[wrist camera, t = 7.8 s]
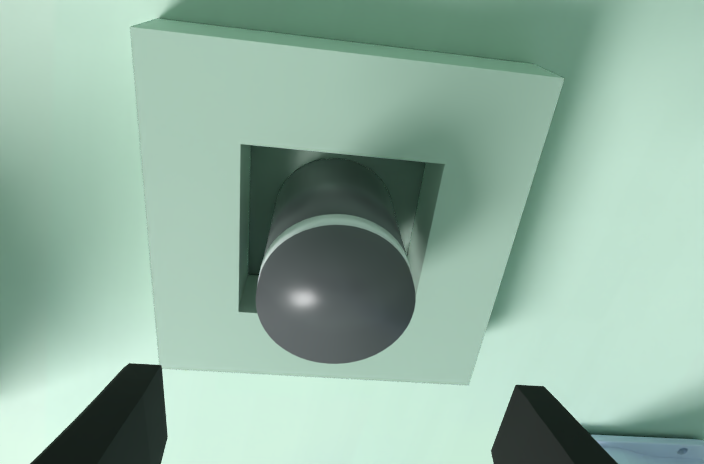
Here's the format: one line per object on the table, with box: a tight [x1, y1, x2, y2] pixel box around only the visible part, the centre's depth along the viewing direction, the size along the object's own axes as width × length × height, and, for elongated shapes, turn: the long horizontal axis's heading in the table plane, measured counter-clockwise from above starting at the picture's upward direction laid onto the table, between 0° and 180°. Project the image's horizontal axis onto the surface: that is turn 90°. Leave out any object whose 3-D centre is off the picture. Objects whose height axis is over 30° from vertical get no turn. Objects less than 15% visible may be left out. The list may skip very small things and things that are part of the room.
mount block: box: [130, 18, 565, 385], centre depth 17 cm, size 12×12×2 cm
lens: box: [256, 158, 416, 364], centre depth 16 cm, size 4×4×6 cm
